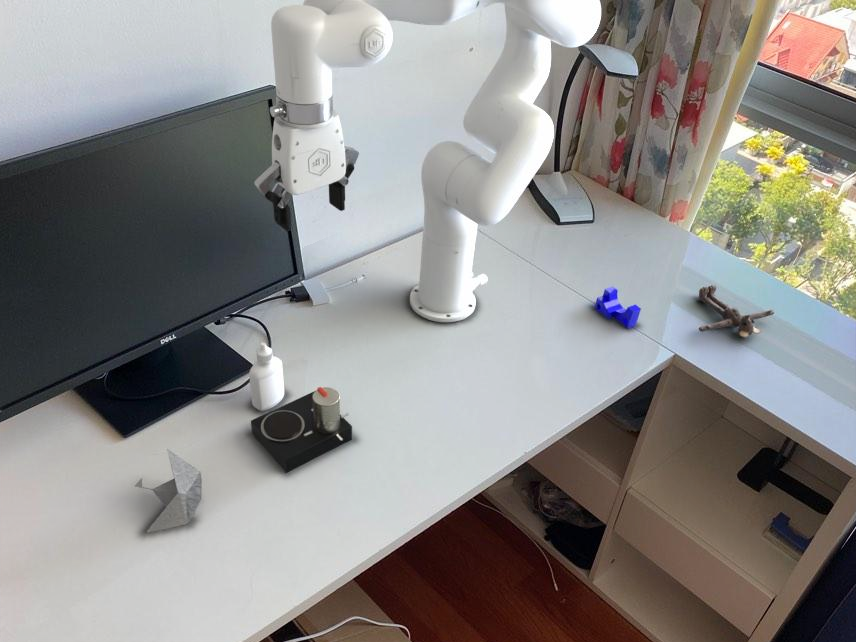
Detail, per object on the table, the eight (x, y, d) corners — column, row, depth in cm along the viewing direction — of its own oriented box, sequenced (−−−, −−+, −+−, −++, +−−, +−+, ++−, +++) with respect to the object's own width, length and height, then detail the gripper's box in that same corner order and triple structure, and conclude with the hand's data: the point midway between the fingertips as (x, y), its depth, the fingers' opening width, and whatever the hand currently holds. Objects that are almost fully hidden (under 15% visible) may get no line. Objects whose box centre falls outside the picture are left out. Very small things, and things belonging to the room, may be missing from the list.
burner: (289, 406, 127) (289, 403, 126) (313, 430, 123) (312, 427, 123) (252, 423, 123) (252, 420, 123) (275, 448, 120) (275, 445, 120)
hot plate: (322, 401, 132) (321, 386, 130) (363, 442, 126) (363, 428, 124) (252, 434, 126) (250, 419, 124) (292, 479, 120) (291, 465, 118)
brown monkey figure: (742, 276, 163) (794, 312, 152) (737, 295, 165) (787, 331, 155) (670, 292, 157) (719, 331, 146) (665, 311, 159) (713, 350, 149)
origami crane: (191, 540, 109) (121, 527, 107) (190, 542, 115) (124, 530, 113) (212, 454, 112) (144, 440, 110) (210, 460, 118) (146, 447, 116)
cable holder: (594, 307, 157) (598, 291, 154) (607, 303, 158) (612, 286, 155) (622, 330, 152) (627, 313, 149) (635, 325, 153) (640, 308, 151)
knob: (344, 426, 124) (344, 397, 120) (323, 437, 122) (322, 407, 118) (330, 412, 126) (329, 382, 122) (308, 422, 124) (307, 392, 120)
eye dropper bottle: (289, 405, 131) (285, 348, 123) (255, 413, 129) (249, 356, 121) (281, 388, 134) (277, 331, 126) (248, 396, 132) (241, 339, 124)
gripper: (265, 133, 104) (275, 246, 115) (372, 101, 112) (371, 210, 124) (235, 111, 107) (248, 223, 119) (340, 82, 116) (342, 189, 128)
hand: (310, 216), depth 122 cm, fingers open, 9 cm apart
